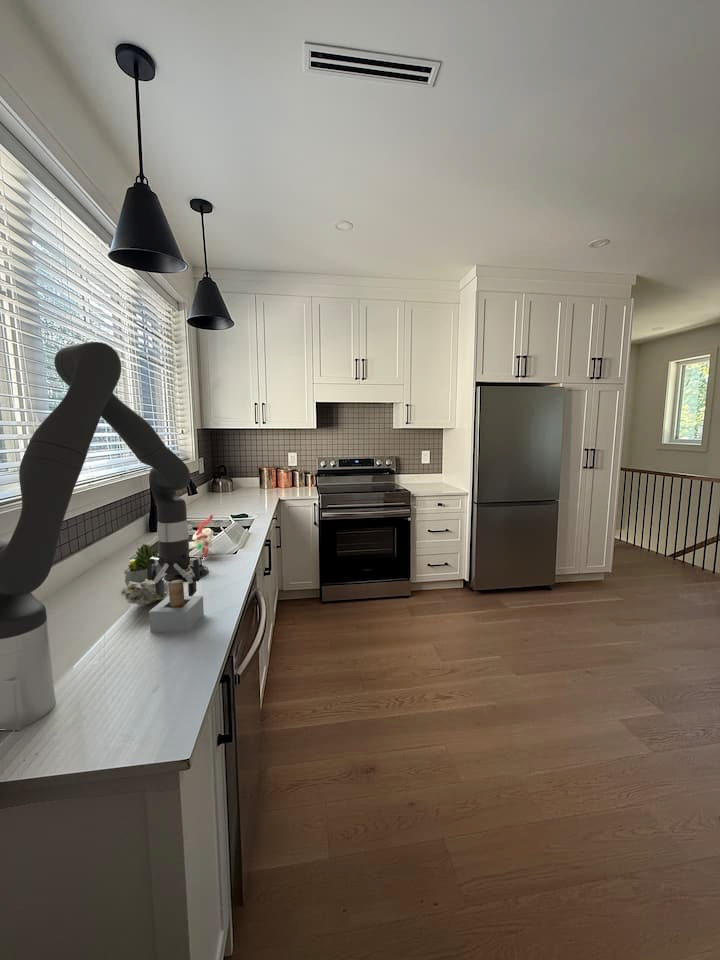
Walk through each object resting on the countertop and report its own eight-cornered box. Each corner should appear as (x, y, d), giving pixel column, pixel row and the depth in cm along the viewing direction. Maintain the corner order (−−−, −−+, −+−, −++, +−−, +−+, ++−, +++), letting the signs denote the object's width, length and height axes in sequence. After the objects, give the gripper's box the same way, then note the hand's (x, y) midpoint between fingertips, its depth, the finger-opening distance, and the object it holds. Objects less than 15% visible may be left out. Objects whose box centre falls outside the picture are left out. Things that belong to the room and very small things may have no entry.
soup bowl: (190, 566, 155) (189, 547, 155) (218, 573, 148) (217, 554, 147) (155, 578, 143) (153, 558, 142) (183, 587, 135) (182, 566, 134)
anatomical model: (187, 553, 170) (185, 513, 168) (213, 550, 174) (211, 511, 172) (187, 564, 156) (184, 520, 154) (215, 561, 161) (213, 518, 158)
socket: (187, 633, 103) (186, 612, 103) (150, 633, 104) (148, 611, 103) (203, 615, 113) (202, 596, 112) (169, 615, 113) (168, 595, 113)
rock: (159, 617, 112) (157, 584, 111) (117, 622, 109) (115, 588, 108) (172, 591, 130) (170, 562, 129) (136, 595, 127) (134, 565, 126)
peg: (181, 627, 107) (179, 585, 105) (168, 627, 107) (166, 584, 105) (187, 621, 110) (185, 579, 109) (175, 620, 110) (172, 579, 109)
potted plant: (123, 584, 136) (119, 542, 134) (163, 576, 144) (161, 536, 142) (127, 596, 127) (124, 551, 125) (170, 586, 134) (168, 544, 132)
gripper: (139, 540, 102) (142, 600, 104) (193, 541, 101) (196, 601, 103) (154, 533, 109) (158, 589, 111) (205, 533, 109) (207, 589, 111)
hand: (176, 594), depth 107 cm, fingers open, 8 cm apart
